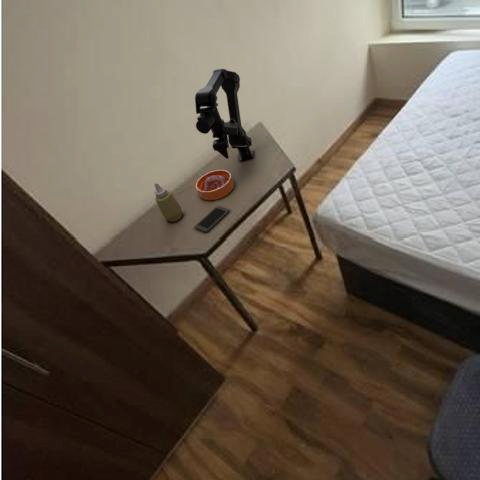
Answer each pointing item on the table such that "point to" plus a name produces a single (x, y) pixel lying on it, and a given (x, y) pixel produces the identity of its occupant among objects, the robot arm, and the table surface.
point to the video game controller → (212, 179)
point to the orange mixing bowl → (216, 192)
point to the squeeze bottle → (167, 204)
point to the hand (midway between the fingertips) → (227, 152)
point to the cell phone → (211, 219)
